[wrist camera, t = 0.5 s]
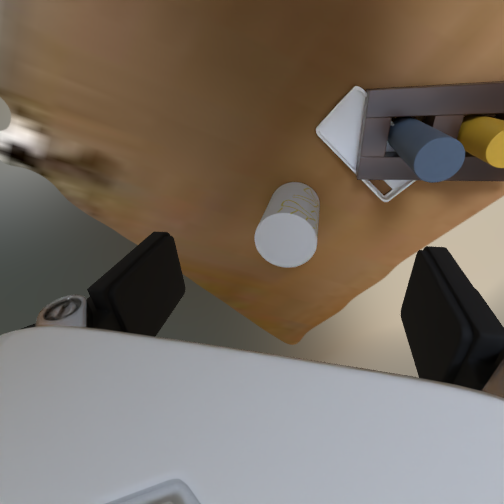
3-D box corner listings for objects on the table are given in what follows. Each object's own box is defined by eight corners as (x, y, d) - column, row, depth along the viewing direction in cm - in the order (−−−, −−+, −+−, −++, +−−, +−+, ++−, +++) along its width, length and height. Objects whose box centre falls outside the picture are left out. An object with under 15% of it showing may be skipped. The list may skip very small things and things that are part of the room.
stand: (366, 88, 36) (369, 90, 33) (539, 78, 31) (560, 79, 29) (354, 172, 41) (356, 179, 38) (500, 173, 37) (515, 181, 34)
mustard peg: (455, 114, 35) (494, 126, 27) (493, 113, 34) (545, 124, 26) (446, 147, 37) (479, 168, 29) (480, 147, 36) (525, 168, 28)
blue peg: (389, 116, 37) (420, 137, 24) (423, 115, 36) (472, 136, 23) (383, 148, 39) (409, 182, 26) (415, 148, 38) (457, 183, 25)
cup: (329, 211, 45) (329, 249, 35) (290, 236, 49) (280, 276, 39) (299, 171, 43) (290, 200, 33) (260, 201, 47) (242, 234, 37)
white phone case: (430, 165, 38) (357, 83, 35) (433, 167, 37) (357, 83, 34) (383, 200, 42) (314, 129, 39) (385, 204, 41) (313, 131, 38)
